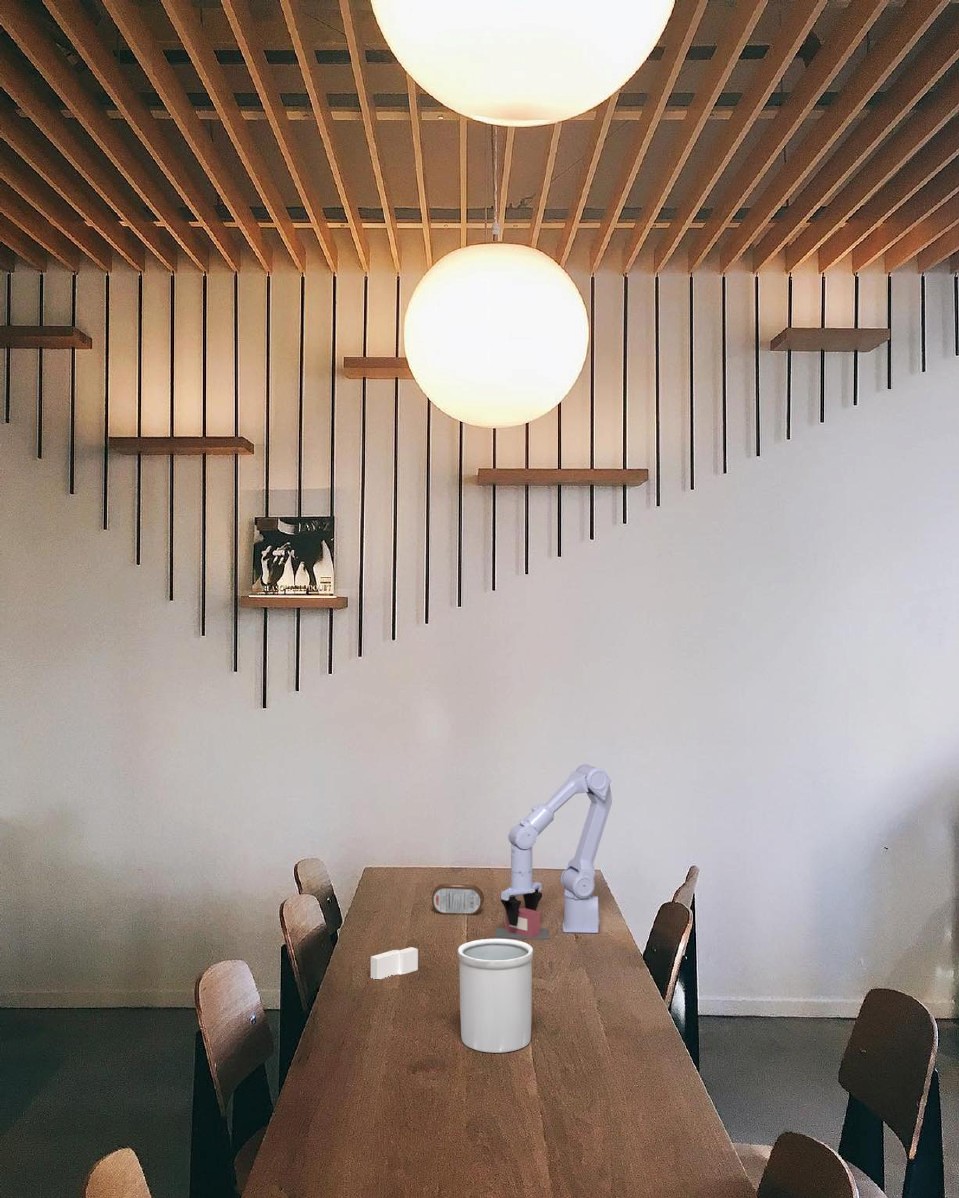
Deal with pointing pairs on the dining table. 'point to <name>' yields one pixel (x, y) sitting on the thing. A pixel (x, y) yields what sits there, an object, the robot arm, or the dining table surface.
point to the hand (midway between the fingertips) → (521, 922)
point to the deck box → (525, 923)
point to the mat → (505, 934)
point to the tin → (457, 899)
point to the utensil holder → (495, 994)
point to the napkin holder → (394, 963)
